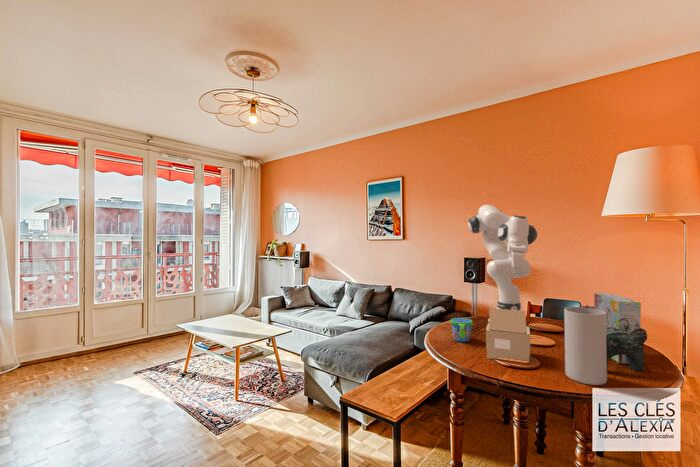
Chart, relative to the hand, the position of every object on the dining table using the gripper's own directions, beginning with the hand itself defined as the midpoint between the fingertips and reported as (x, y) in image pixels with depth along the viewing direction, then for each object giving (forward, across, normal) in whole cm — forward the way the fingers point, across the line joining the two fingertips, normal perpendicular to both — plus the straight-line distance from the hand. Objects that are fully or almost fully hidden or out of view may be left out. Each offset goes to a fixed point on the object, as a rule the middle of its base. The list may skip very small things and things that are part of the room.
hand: (515, 277), depth 159 cm
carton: (+34, +13, -2) cm, 37 cm away
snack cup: (+35, -2, -23) cm, 42 cm away
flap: (+18, +20, -4) cm, 27 cm away
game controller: (+32, +15, +37) cm, 51 cm away
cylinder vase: (+34, +28, +23) cm, 50 cm away
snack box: (+30, -3, +41) cm, 51 cm away
